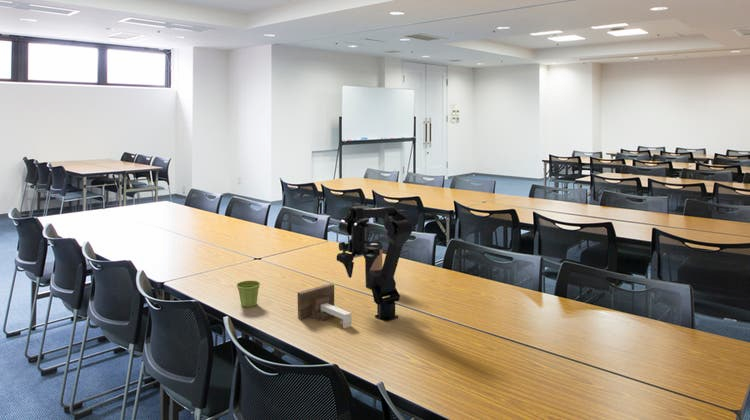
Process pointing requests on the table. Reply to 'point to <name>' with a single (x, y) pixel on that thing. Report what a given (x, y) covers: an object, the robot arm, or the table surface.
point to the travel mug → (374, 264)
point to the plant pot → (248, 292)
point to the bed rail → (337, 313)
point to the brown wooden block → (315, 302)
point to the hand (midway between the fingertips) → (358, 275)
